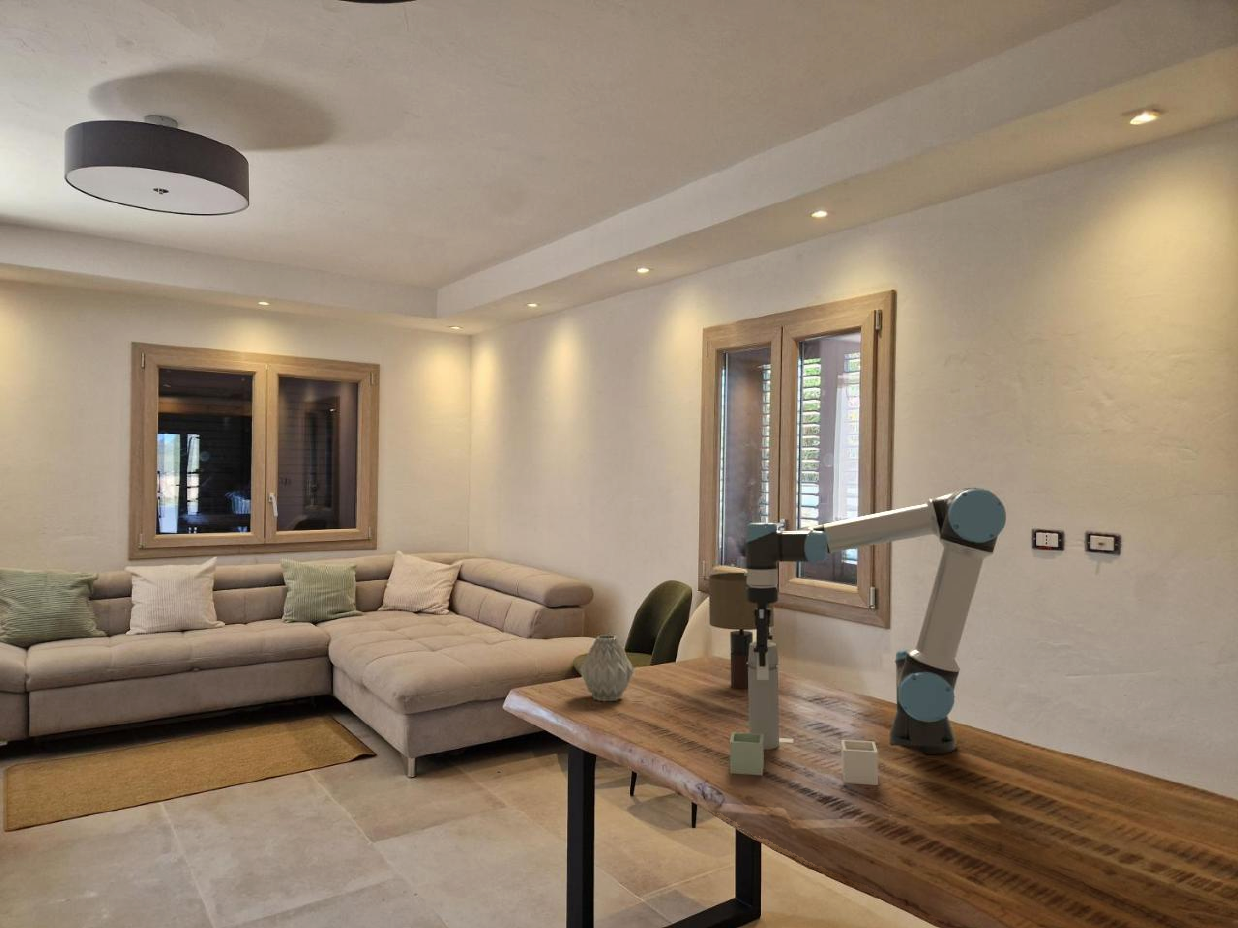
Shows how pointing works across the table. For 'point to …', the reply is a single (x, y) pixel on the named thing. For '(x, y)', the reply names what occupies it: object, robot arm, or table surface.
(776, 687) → the water bottle
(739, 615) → the lamp
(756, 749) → the sage open box
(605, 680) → the vase
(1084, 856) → the table surface
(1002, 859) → the table surface
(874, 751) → the cream open box
